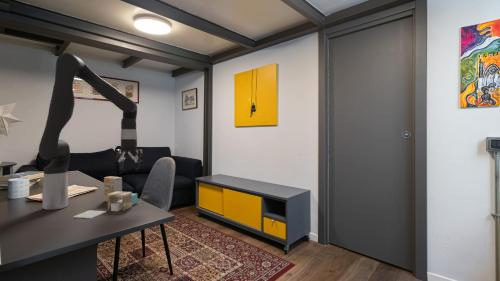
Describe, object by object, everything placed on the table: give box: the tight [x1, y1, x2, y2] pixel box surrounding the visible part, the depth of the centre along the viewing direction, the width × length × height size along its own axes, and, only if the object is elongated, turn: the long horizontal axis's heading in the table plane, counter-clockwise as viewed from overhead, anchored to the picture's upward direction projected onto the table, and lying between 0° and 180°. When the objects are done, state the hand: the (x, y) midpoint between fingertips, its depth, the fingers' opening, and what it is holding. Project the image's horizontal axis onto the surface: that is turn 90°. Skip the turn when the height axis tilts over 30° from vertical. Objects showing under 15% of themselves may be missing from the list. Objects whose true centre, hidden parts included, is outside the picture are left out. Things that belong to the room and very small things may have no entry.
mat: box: [72, 209, 107, 220], centre depth 110 cm, size 9×9×1 cm
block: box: [132, 192, 138, 206], centre depth 127 cm, size 5×5×5 cm
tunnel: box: [107, 191, 133, 212], centre depth 119 cm, size 8×6×8 cm
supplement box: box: [103, 175, 123, 203], centre depth 131 cm, size 8×5×13 cm, turn 68°
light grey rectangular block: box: [110, 200, 122, 212], centre depth 120 cm, size 4×9×4 cm, turn 171°
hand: (129, 169), depth 126 cm, fingers open, 8 cm apart
